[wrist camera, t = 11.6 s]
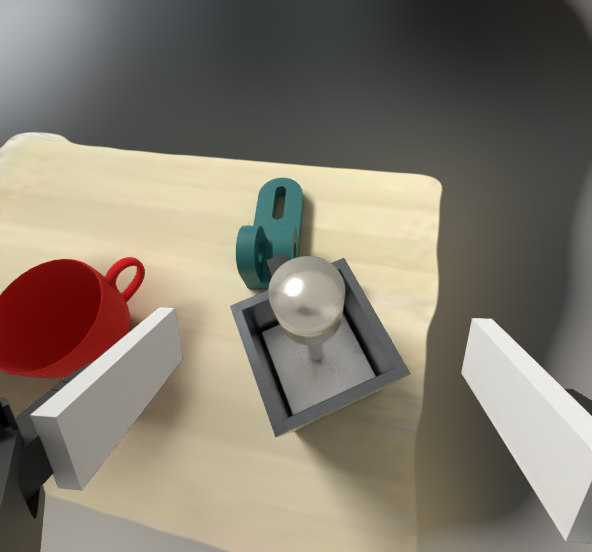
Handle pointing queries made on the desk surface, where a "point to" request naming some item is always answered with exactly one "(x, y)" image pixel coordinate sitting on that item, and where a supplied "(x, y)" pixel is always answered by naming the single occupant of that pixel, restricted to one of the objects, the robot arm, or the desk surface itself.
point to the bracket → (270, 232)
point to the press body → (365, 327)
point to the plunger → (312, 334)
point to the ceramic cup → (63, 317)
